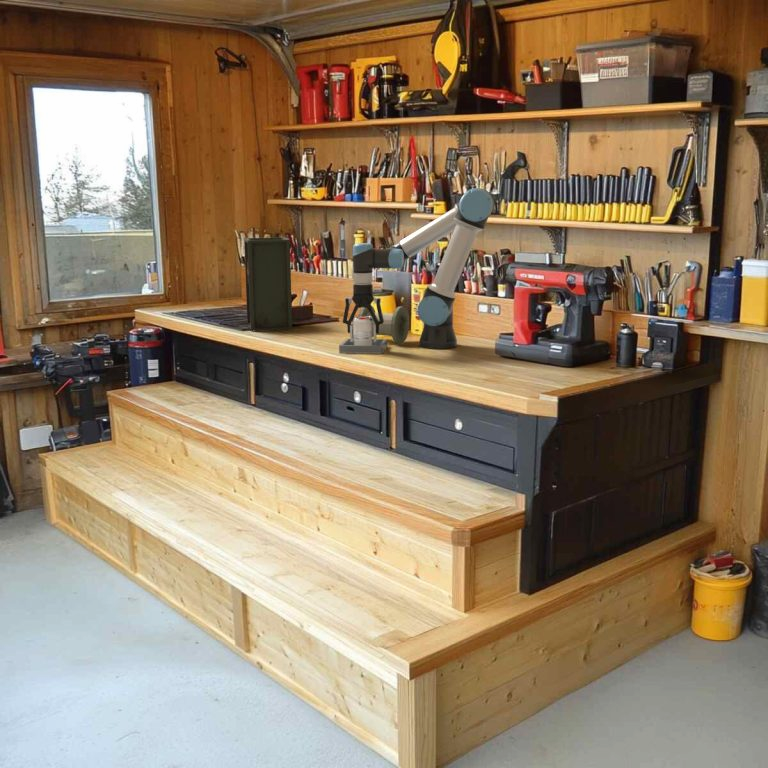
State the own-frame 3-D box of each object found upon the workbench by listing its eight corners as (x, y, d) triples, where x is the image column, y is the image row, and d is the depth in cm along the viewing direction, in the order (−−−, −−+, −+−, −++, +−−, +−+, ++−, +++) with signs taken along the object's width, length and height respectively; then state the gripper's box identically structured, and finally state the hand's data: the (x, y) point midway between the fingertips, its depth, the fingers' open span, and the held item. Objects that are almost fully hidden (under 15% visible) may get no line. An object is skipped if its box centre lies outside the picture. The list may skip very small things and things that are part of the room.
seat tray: (386, 346, 364) (386, 339, 364) (381, 353, 348) (381, 346, 348) (346, 345, 366) (346, 338, 366) (339, 353, 350) (339, 345, 350)
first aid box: (292, 329, 409) (289, 239, 400) (250, 331, 404) (247, 240, 396) (287, 323, 426) (284, 237, 418) (247, 325, 422) (244, 238, 413)
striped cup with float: (353, 350, 352) (352, 320, 349) (348, 347, 360) (347, 317, 357) (378, 349, 354) (377, 318, 352) (372, 345, 362) (371, 315, 360)
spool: (409, 340, 378) (409, 304, 375) (394, 346, 365) (394, 309, 362) (373, 338, 385) (373, 302, 382) (357, 343, 372) (357, 307, 369)
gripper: (391, 282, 354) (391, 340, 359) (337, 282, 357) (338, 339, 362) (389, 284, 347) (389, 343, 352) (333, 284, 350) (334, 342, 354)
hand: (363, 341), depth 357 cm, fingers open, 8 cm apart
